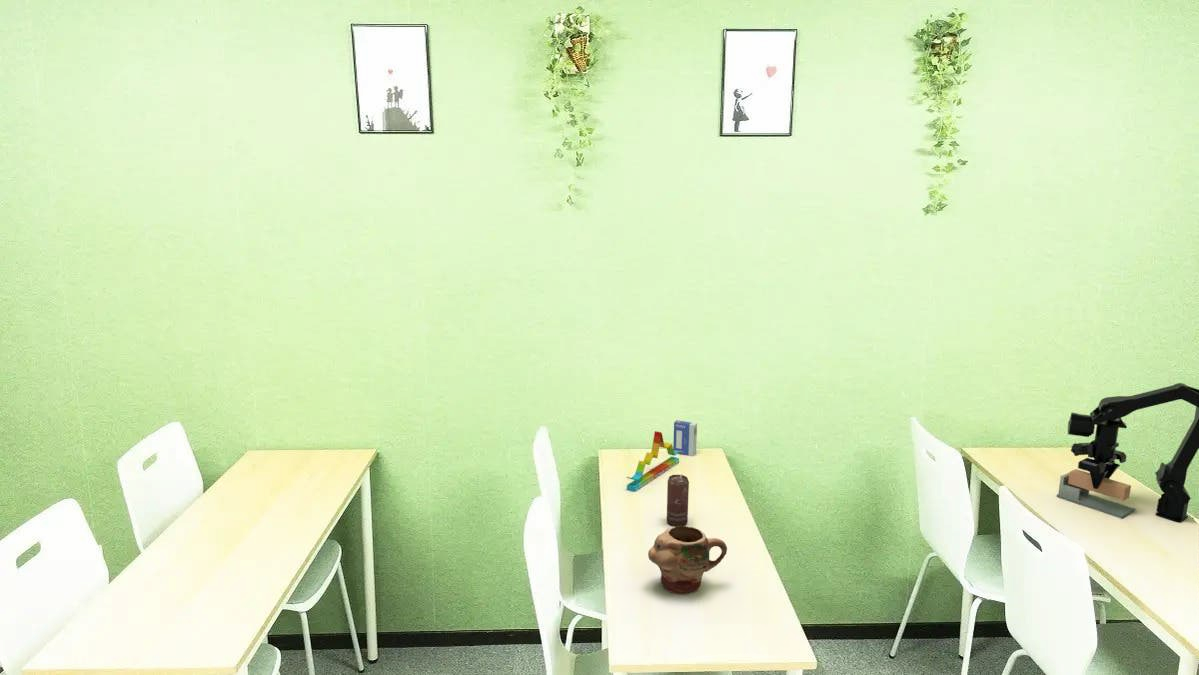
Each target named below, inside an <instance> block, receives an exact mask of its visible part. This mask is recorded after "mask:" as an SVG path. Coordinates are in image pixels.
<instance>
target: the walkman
mask: <svg viewBox="0 0 1199 675" xmlns="http://www.w3.org/2000/svg"><path fill="white" fill-rule="evenodd" d="M697 435H698V423H696V422H692V421H691V422H690V421H683V420H679V419H678V420H677V419H676V420H675V421H674V422H673V442H672V446H673V450H674V451H678V453H677V454H676V455H682V456H690V457H694V456H696V455H697V442H698V441H697Z"/></svg>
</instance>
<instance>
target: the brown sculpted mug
mask: <svg viewBox="0 0 1199 675" xmlns="http://www.w3.org/2000/svg"><path fill="white" fill-rule="evenodd" d="M714 547H718V548H720V551H721V553H720V555H719V556H718V557H717V558H716V559H715V560H711V559H710V551H711V550H712V548H714ZM727 551H728V547H727V544H726V542H725V541H724V540H723V539H719V538H717V537H715V538H714V537H713V538H712V537H710V538H707V536H706V534H705V533H704V532H703V531H702V530H701V529H699V528H696V527H693V526H689V525H684V526H682V525H680V526H676V527H675V526H672V527H670V528H667V529H666V530H665V531H663V532H661V533H660V534H658V535H657V537H656V538H655V540H654V543H653V546H651V548H650V549H649V550H648V553H647V554H648V555H647V556H648V559H649V561H651V562H652V563H653V564H655V565H656V566H657V567H658V568H659V571H660V575H661V576H660V583H661V586H662V587H663V588H664V589H665V590H667V591H669V592H671V593H673V594H676V595H677V594H678V595H688V594H694V593H696V592H697V591H699V589H700V588H701V585H702V579H703V575H704V573H707V572H710V570H712V569H713V568H715V567H717V566H718V565H719V564H720V563H721V562H722V561H723V559H724V558H725V556H726V555H727Z"/></svg>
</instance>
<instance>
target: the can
mask: <svg viewBox="0 0 1199 675" xmlns="http://www.w3.org/2000/svg"><path fill="white" fill-rule="evenodd" d="M689 486H690V481H689V479H688V477H687V476H686V475H684V474H672V475H670V476H669V477H668V479H667V494H666V497H667V498H666V522H667V524H668V525H669V526H671V527H676V526H680V525H682V526H687V524H688V521H689V520H688V518H689V489H690V487H689Z"/></svg>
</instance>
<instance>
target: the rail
mask: <svg viewBox="0 0 1199 675" xmlns="http://www.w3.org/2000/svg"><path fill="white" fill-rule="evenodd" d="M1069 472H1070V473H1069ZM1069 472H1068V473H1069V480H1068V484H1071V485H1074V486H1077V487H1081V488H1084V489H1087V490H1090V491H1091V492H1094V493H1096V494H1100V495H1103V496H1106V497H1110V498H1113V499H1116V500H1119V501H1122V502H1124V501H1125V500H1127V499H1129V498H1130V496H1131V495H1130V494H1131V488H1132V485H1130V484H1128V483H1125V482H1121V481H1117V480H1113V479H1111V478H1109V479H1108V478H1104V479H1103V481H1102V482H1101V484H1100V486H1099V487H1098V489H1095V488H1093V484H1092V479H1091V475H1090V472H1089V471H1085V470H1082V469H1079V468H1075V469H1072V470H1070V471H1069ZM1090 491H1089V492H1090Z"/></svg>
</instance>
